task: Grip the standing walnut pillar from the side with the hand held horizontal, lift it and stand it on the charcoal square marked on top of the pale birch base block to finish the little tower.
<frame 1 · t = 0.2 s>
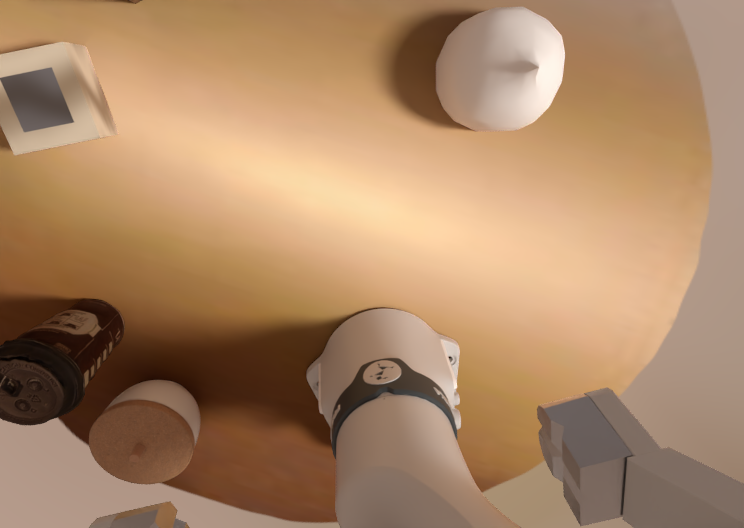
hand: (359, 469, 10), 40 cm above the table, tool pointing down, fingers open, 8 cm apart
coffee cup: (97, 321, 52), on the table
lidded jar: (167, 399, 56), on the table
teardrop: (489, 74, 45), on the table
birch plinth: (63, 99, 43), on the table
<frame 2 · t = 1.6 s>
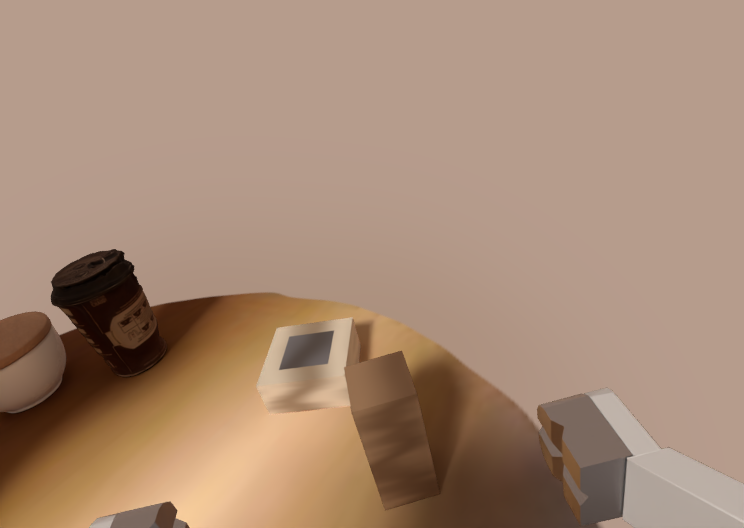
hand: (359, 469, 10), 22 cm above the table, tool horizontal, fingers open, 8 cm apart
coffee cup: (143, 359, 54), on the table
lidded jar: (35, 393, 53), on the table
birch plinth: (319, 379, 44), on the table
walnut pillar: (406, 476, 33), on the table
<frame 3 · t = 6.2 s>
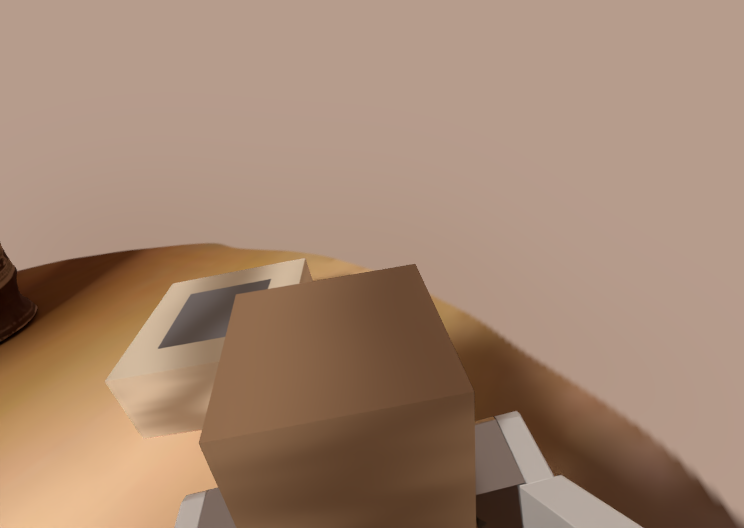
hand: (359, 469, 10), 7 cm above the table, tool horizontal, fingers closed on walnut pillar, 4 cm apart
birch plinth: (245, 370, 25), on the table
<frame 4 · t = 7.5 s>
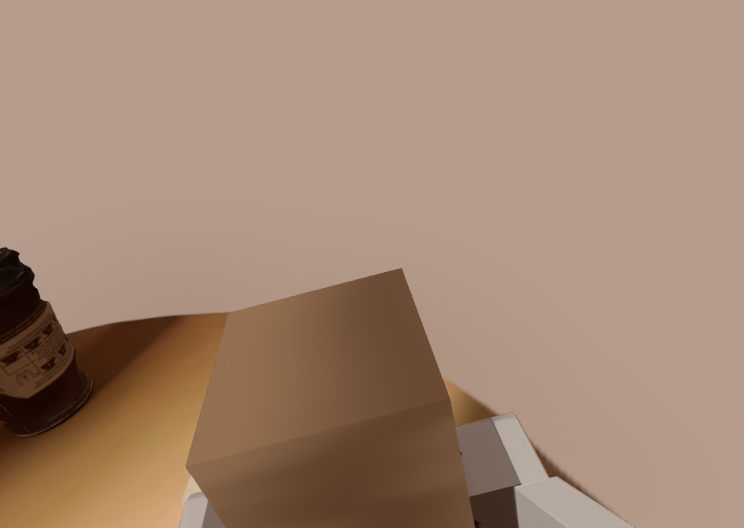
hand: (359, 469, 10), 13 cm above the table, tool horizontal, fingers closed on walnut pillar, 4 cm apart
coffee cup: (57, 407, 37), on the table
when the fingers open (11 cm above the table, at t = 10.6 s): walnut pillar stays where it is, resting on birch plinth.
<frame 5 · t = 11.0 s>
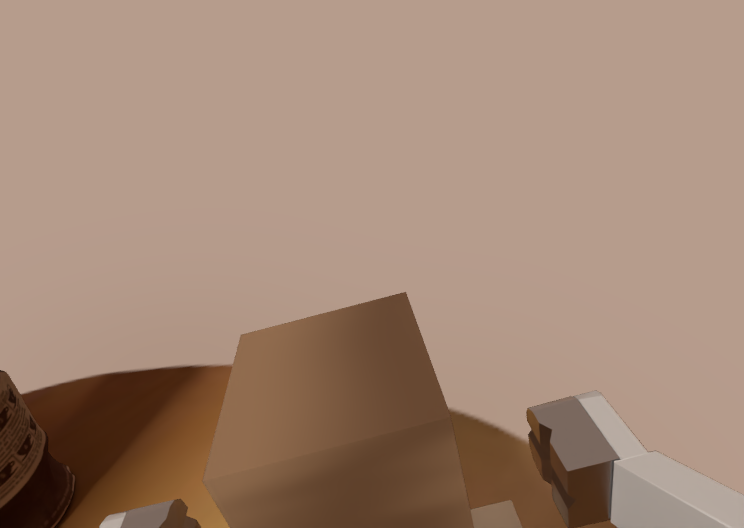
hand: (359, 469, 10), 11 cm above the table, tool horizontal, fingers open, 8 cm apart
coffee cup: (21, 523, 25), on the table
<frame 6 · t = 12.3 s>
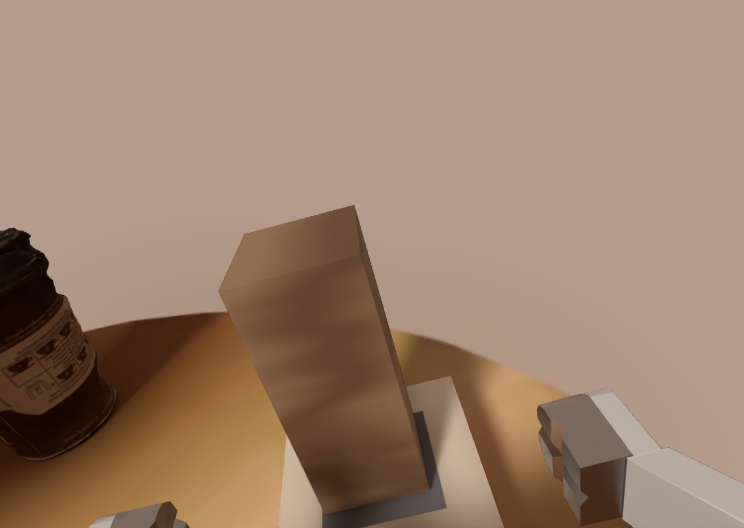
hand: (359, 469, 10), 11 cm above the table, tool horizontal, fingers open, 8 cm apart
coffee cup: (74, 423, 31), on the table
birch plinth: (397, 524, 20), on the table, touching walnut pillar
walnut pillar: (372, 457, 19), point 4 cm above the table, touching birch plinth
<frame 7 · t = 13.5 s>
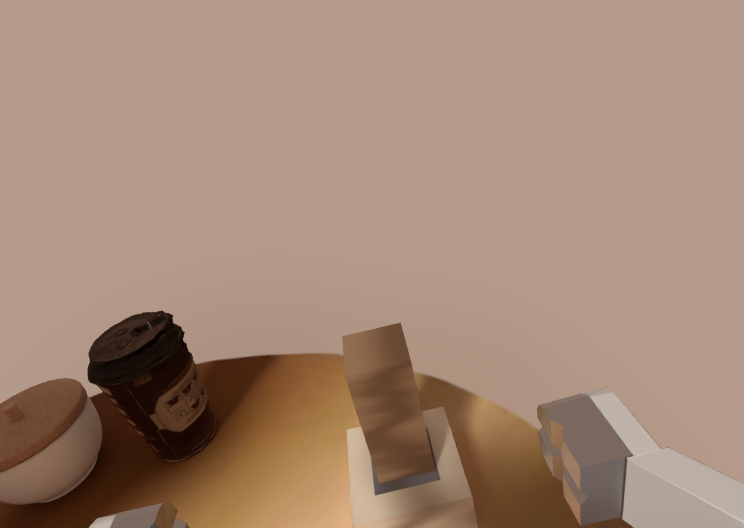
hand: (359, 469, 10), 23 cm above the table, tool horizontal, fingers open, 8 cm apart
coffee cup: (190, 437, 45), on the table
lidded jar: (66, 475, 45), on the table
birch plinth: (412, 493, 35), on the table, touching walnut pillar
walnut pillar: (402, 453, 33), point 4 cm above the table, touching birch plinth
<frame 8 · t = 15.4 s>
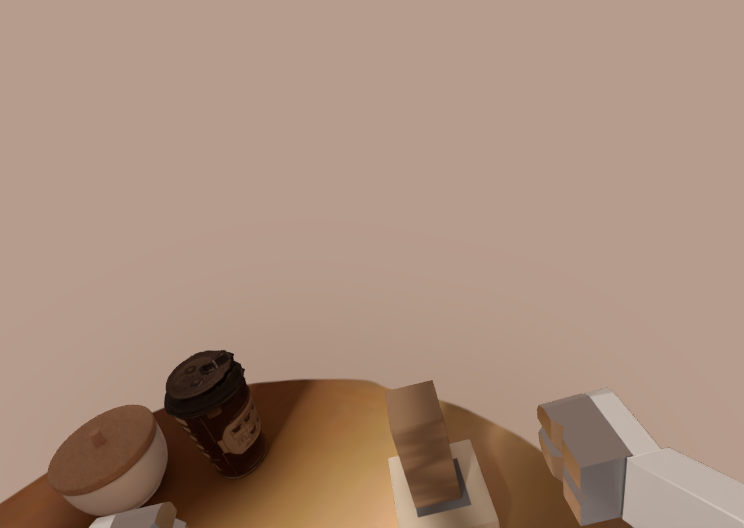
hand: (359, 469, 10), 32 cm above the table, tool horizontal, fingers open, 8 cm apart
coffee cup: (244, 455, 52), on the table
lidded jar: (136, 489, 52), on the table
birch plinth: (444, 513, 42), on the table, touching walnut pillar
walnut pillar: (433, 482, 40), point 4 cm above the table, touching birch plinth
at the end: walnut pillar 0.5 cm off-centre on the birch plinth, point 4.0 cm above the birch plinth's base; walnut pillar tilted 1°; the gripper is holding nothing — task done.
